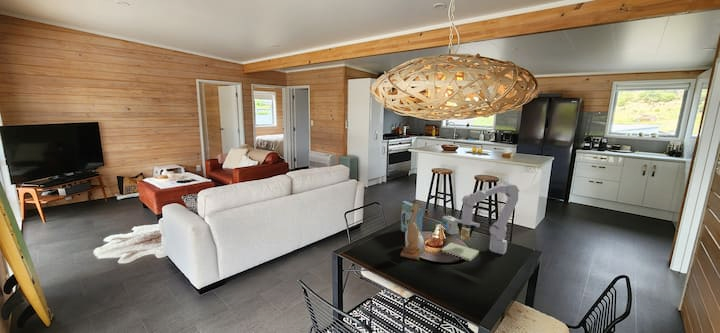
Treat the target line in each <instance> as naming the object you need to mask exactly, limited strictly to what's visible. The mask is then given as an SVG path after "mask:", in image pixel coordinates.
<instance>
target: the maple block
mask: <svg viewBox="0 0 720 333" xmlns="http://www.w3.org/2000/svg"><path fill="white" fill-rule="evenodd" d="M460 240H463V241H470V240H471V238H470V227H469V228H468V227H463V226H462V229H461V235H460Z"/></svg>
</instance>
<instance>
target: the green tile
mask: <svg viewBox="0 0 720 333" xmlns="http://www.w3.org/2000/svg"><path fill="white" fill-rule="evenodd" d="M441 250H442V251H441ZM440 251H441V252H442V253H445V252H446V253H445V254H448V253H449V254H448V255H450V254H452V255H451V256H453V255H455V256H454V257H456V256H458V257H457V258H459V257H461V258H460V259H463V260H465V261H469V262H471V261H472V260H473V259H475V257H477V256H478V255H479V254H480V251H479V250H478V249H474V248H471V247H466V246H464V245H460V244H457V243H454V242H449V243H448V244H447V245H445V246H444V247H442V248H441V249H440Z"/></svg>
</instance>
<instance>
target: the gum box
mask: <svg viewBox="0 0 720 333" xmlns="http://www.w3.org/2000/svg"><path fill="white" fill-rule="evenodd" d="M414 204H415V203H413V202H410V201H408V200H403V201H401V220H400V230H401V232H403V233H406V231H407V228H408V225H409V220H410V218H411V216H412V214H413V211H409V208H410V207H411V206H413V205H414ZM419 207H420V208H419V210H418V212H417V214H416V217H415V220H414V223H415V224H416V225H417V226H418V229H419V232H420V233H421V235H422V234H423V213H424V211H423V210H424V207H421V206H419ZM422 236H423V235H422Z"/></svg>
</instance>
